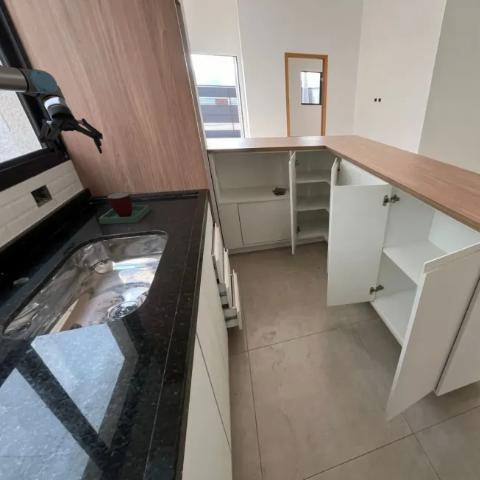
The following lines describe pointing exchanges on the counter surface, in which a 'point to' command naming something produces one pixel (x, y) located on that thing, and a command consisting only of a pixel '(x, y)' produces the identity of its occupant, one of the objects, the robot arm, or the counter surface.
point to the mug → (121, 204)
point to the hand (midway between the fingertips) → (80, 153)
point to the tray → (136, 215)
